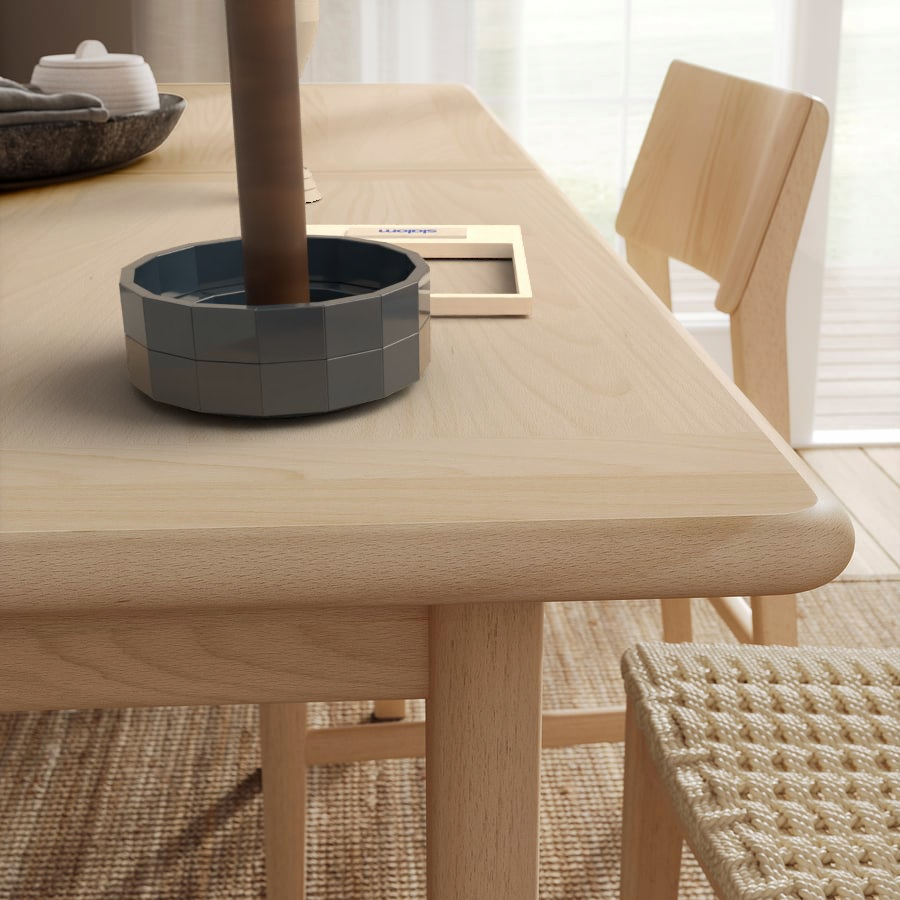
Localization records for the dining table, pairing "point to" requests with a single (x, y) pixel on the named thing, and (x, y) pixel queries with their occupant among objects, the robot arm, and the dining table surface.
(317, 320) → the bowl
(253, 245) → the stirring stick
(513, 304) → the photo frame
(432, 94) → the dining table surface
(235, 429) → the dining table surface
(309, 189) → the chalice
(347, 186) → the dining table surface
